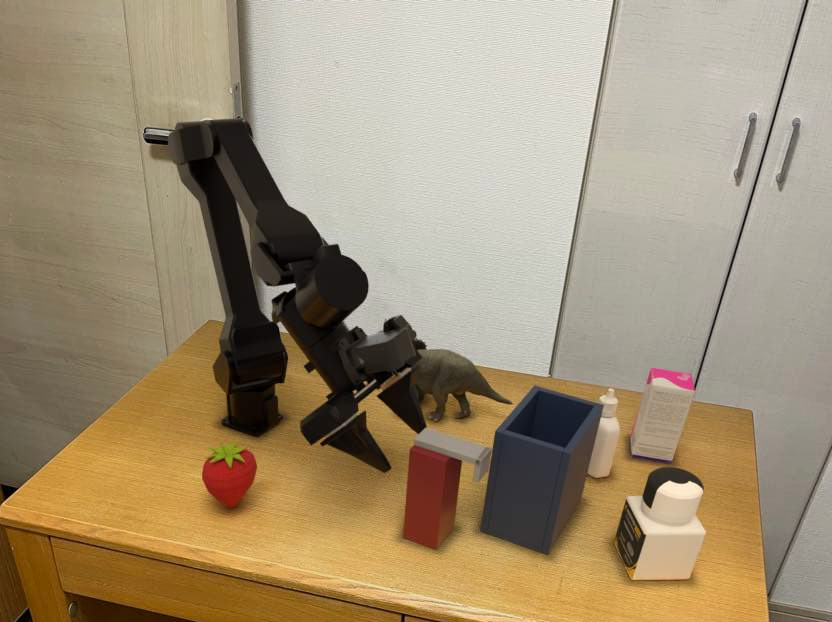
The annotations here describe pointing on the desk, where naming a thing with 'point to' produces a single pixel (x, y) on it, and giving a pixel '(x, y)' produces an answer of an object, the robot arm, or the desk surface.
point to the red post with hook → (437, 484)
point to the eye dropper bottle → (605, 437)
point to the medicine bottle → (662, 527)
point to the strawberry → (229, 473)
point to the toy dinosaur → (449, 379)
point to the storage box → (539, 468)
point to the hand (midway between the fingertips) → (407, 452)
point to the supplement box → (661, 415)
